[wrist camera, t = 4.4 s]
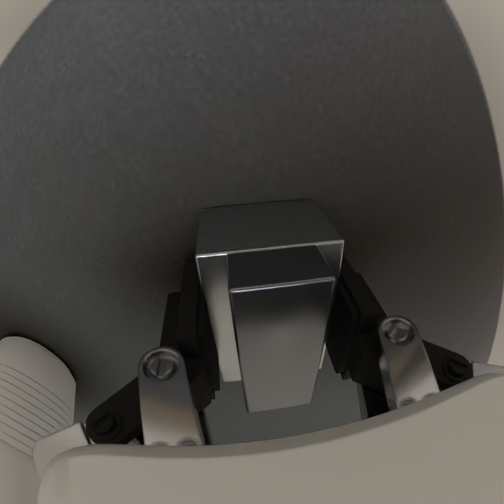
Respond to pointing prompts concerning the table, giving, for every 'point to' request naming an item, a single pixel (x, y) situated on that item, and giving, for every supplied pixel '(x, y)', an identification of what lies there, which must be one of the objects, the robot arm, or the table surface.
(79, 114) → the table surface
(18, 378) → the cup
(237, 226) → the grey stepped block
